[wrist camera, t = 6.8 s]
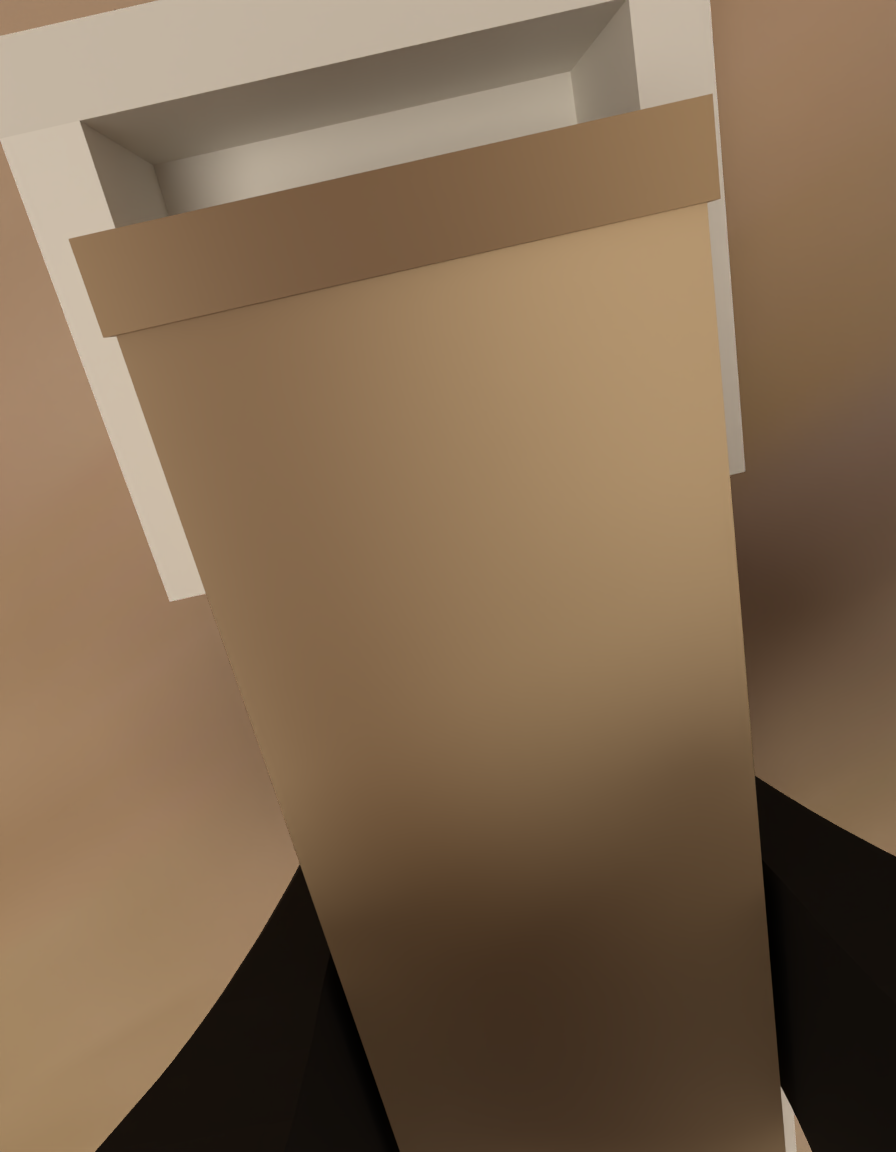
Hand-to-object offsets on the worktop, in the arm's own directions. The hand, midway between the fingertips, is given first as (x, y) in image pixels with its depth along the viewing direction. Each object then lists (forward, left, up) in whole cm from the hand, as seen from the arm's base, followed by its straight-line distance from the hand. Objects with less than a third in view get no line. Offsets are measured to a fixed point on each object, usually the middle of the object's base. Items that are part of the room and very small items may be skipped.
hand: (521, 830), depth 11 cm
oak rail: (0, 0, -2) cm, 2 cm away
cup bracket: (0, -7, -4) cm, 8 cm away
